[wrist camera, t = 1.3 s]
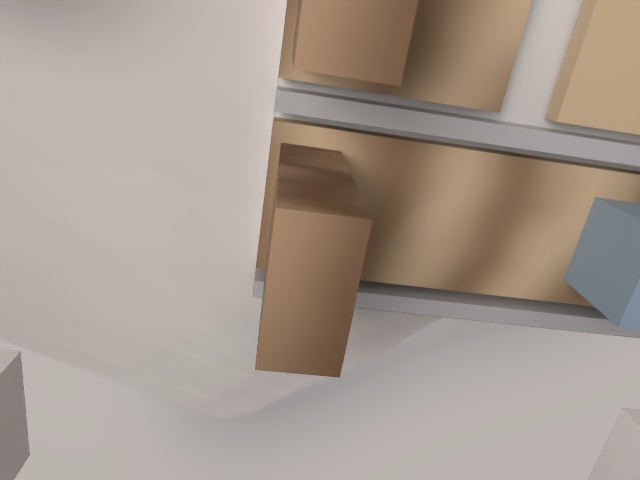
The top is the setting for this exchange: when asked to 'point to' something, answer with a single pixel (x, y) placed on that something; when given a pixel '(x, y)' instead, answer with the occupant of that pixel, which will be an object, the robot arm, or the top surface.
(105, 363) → the top surface
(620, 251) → the block
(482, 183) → the tan wooden l-shaped piece
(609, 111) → the board
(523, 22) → the wooden bookend
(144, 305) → the top surface
